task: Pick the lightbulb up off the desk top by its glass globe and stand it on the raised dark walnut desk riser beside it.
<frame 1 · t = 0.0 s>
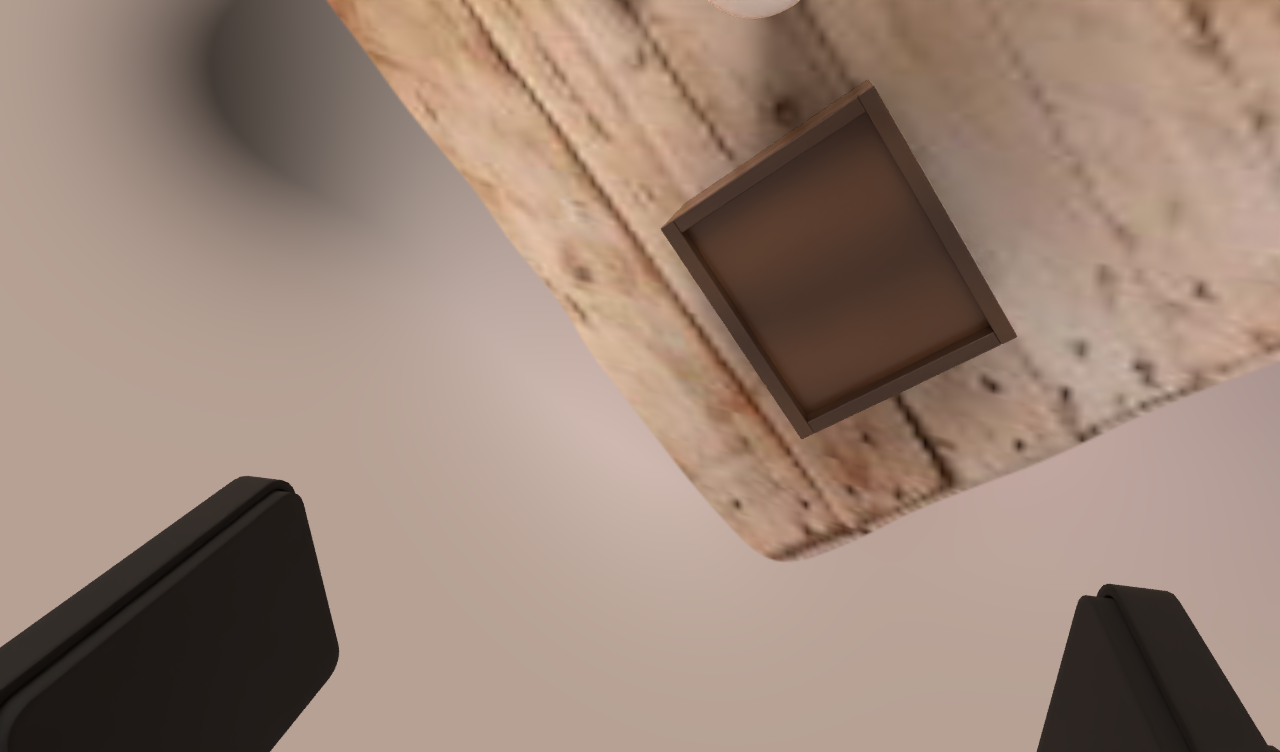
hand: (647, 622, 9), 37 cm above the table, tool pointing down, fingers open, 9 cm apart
riser: (834, 247, 43), on the table
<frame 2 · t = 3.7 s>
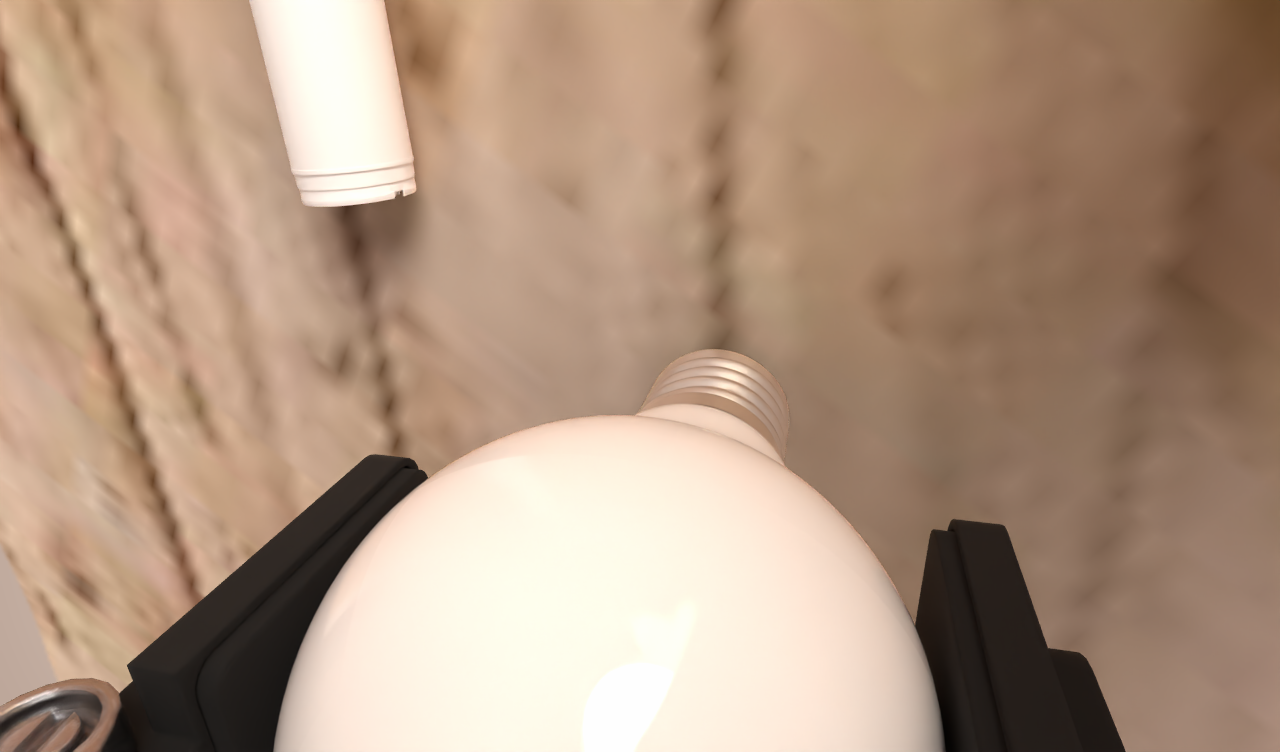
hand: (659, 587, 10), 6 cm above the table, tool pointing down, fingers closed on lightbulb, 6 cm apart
lightbulb: (724, 395, 15), on the table, touching gripper
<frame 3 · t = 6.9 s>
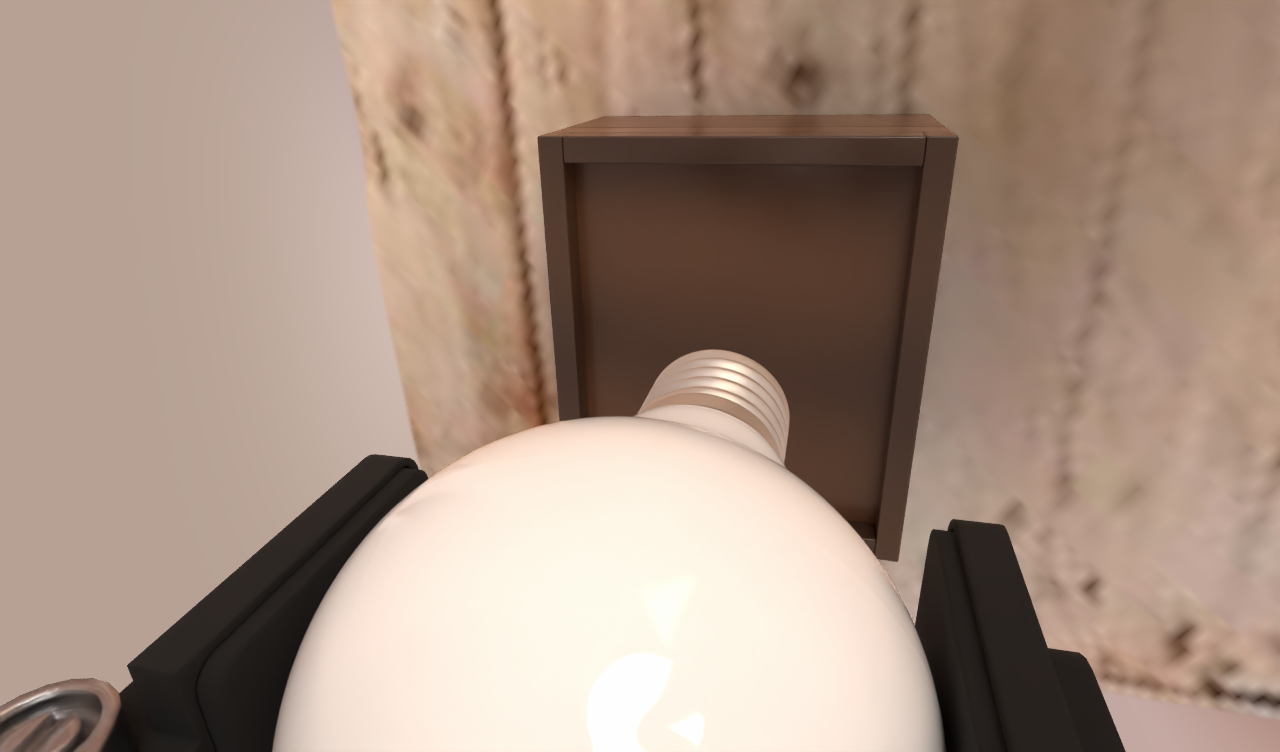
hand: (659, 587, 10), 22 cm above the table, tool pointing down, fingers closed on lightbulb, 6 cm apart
lightbulb: (724, 395, 15), point 16 cm above the table, touching gripper
riser: (751, 296, 30), on the table
when the fingers open (12 cm above the table, at t = 10.4 s): lightbulb stays where it is, resting on riser.
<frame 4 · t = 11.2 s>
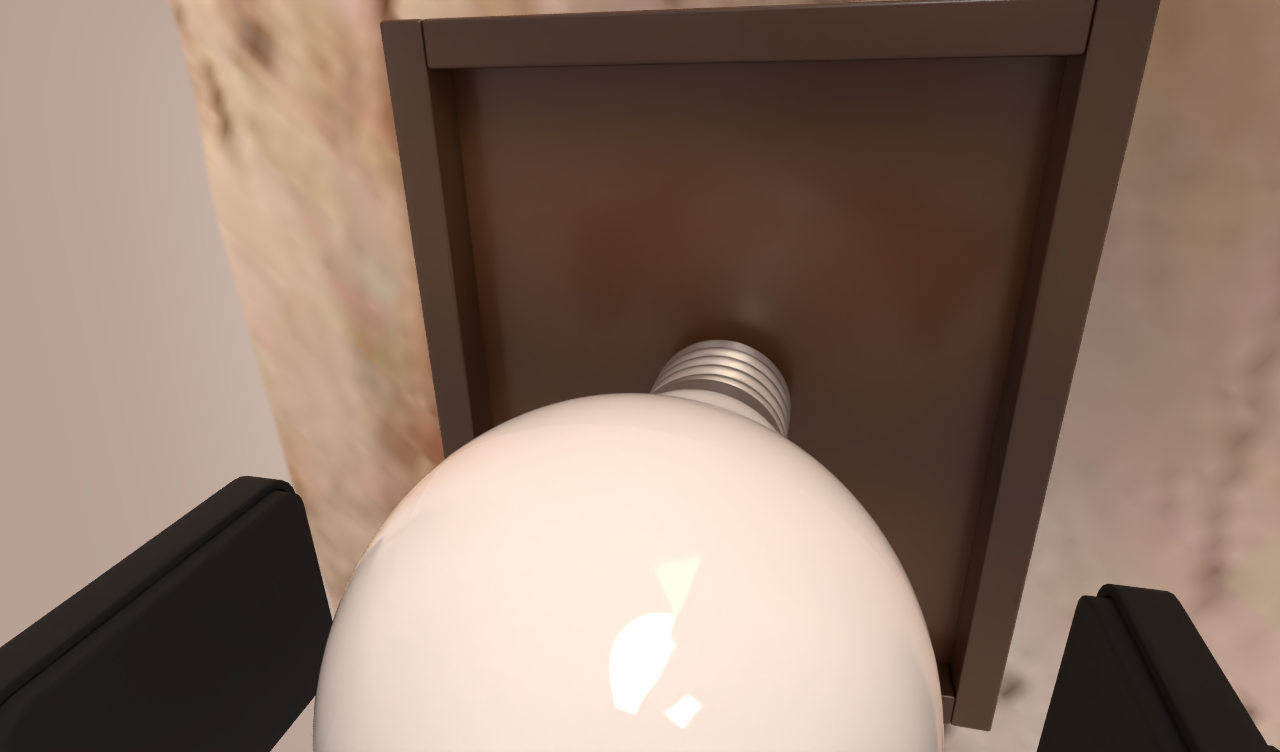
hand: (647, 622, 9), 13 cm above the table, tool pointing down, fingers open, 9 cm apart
lightbulb: (727, 385, 15), point 6 cm above the table, touching riser
riser: (752, 301, 20), on the table
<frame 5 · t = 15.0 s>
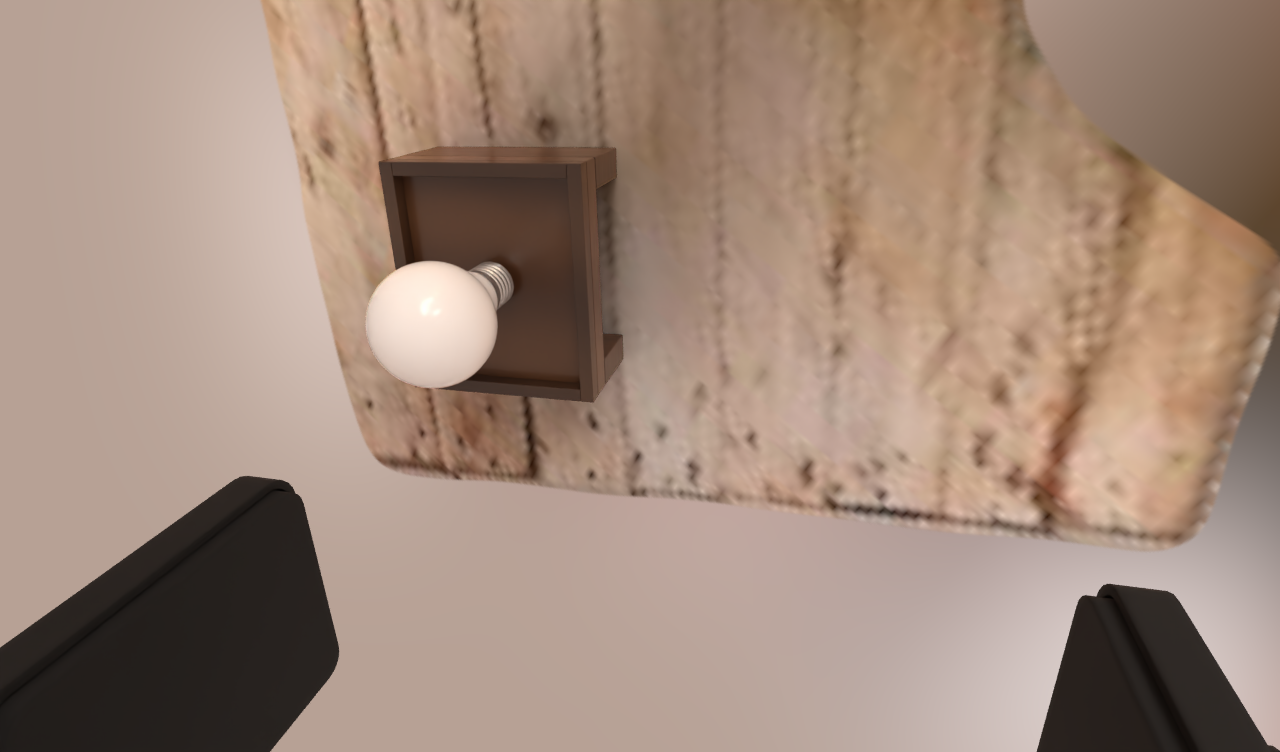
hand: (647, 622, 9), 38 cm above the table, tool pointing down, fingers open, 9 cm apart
lightbulb: (498, 279, 44), point 6 cm above the table, touching riser
riser: (533, 256, 49), on the table
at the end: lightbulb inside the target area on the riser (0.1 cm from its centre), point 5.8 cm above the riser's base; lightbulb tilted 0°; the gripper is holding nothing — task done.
